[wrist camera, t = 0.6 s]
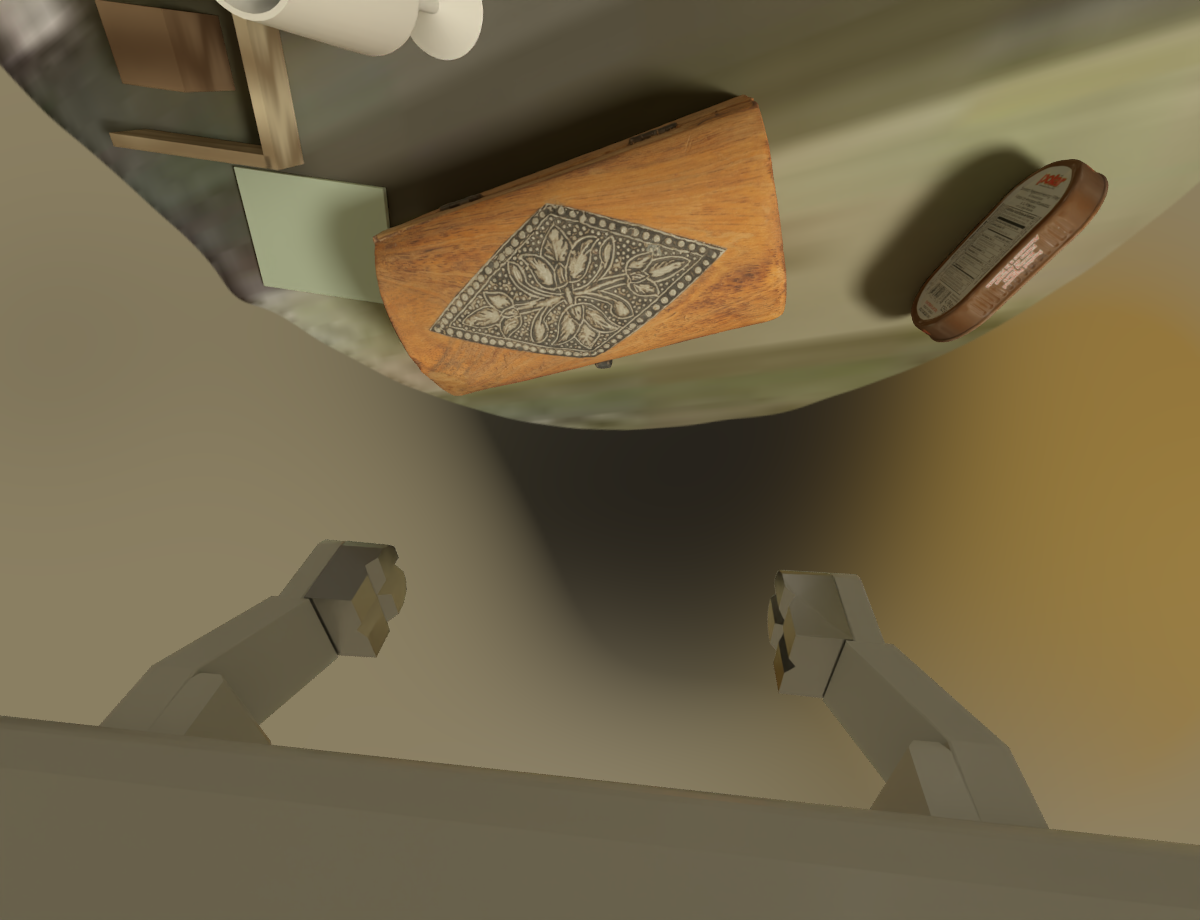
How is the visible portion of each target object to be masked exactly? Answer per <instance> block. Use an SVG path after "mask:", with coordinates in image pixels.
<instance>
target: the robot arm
mask: <svg viewBox="0 0 1200 920" xmlns="http://www.w3.org/2000/svg"><path fill="white" fill-rule="evenodd" d="M398 558H399V557H398V554H397V552H396V549H395V547H394V546H391V545H385V544H374V543H363V542H352V541H337V540H324V541H322V542H320V543H319V544H318V545H317V546H316V547H315V549H314V550H313V551H312V553H311V554H310V555H309V557H308V558H307V559H306V561H305V562H304V563H303V565H302V566H301V567H300V568H299V570H298V571H297V573H296V574H295V575H294V576H293V578H292V579H291V580H290V582H289V583H288V584H287V586H286V587H285V588H284V589H283V591H282V592H281V593H280V595H279V596H271V597H269V598H268V599H266V600H264V601H262V602H261V603H259V604H257V605H255V606H254V607H252V608H250V609H249V610H247V611H245V612H243V613H242V614H240V615H238V616H237V617H235V618H233V619H231V620H230V621H228V622H226V623H225V624H223V625H221V626H219V627H218V628H216V629H214V630H212V631H211V632H209V633H207V634H206V635H204V636H202V637H200V638H199V639H197V640H195V641H193V642H192V643H190V644H188V645H187V646H185V647H183V648H181V649H180V650H178V651H176V652H175V653H173V654H171V655H169V656H168V657H166V658H164V659H163V660H161V661H159V662H157V663H156V664H154V665H152V666H151V668H149V670H148V671H147V672H146V673H145V674H144V675H143V676H142V678H141V679H140V680H139V681H138V682H137V683H136V684H135V686H134V687H133V688H132V689H131V690H130V691H129V692H128V693H127V695H126V696H125V697H124V698H123V699H122V700H121V701H120V703H119V704H118V705H117V706H116V707H115V708H114V709H113V711H112V712H111V713H110V714H109V715H108V716H107V717H106V719H105V720H104V721H103V722H102V723H101V724H100V725H99V726H92V725H83V724H73V723H65V722H55V721H46V720H37V719H28V718H18V717H10V716H0V920H1200V845H1195V844H1185V843H1175V842H1167V841H1158V840H1148V839H1139V838H1130V837H1120V836H1110V835H1102V834H1092V833H1083V832H1074V831H1065V830H1056V829H1049V828H1048V826H1047V824H1046V821H1045V820H1044V817H1043V815H1042V814H1041V811H1040V810H1039V807H1038V805H1037V803H1036V801H1035V799H1034V797H1033V795H1032V793H1031V791H1030V789H1029V787H1028V785H1027V783H1026V781H1025V779H1024V777H1023V775H1022V773H1021V771H1020V769H1019V767H1018V765H1017V763H1016V761H1015V759H1014V757H1013V755H1012V753H1011V751H1010V749H1009V747H1008V746H1007V745H1006V744H1005V743H1003V742H1002V741H1001V740H1000V739H999V738H998V737H997V736H996V735H994V734H993V733H992V732H991V731H990V730H989V729H988V728H987V727H985V726H984V725H983V724H982V723H981V722H980V721H979V720H978V719H976V718H975V717H974V716H973V715H972V714H971V713H970V712H968V711H967V710H966V709H965V708H964V707H963V706H962V705H961V704H959V703H958V702H957V701H956V700H955V699H954V698H952V696H950V695H949V694H948V693H947V692H946V691H945V690H944V689H943V688H942V687H940V686H939V685H938V684H937V683H936V682H935V681H934V680H933V679H931V678H930V677H929V676H928V675H927V674H926V673H925V672H924V671H922V670H921V669H920V668H919V667H918V666H917V665H916V664H914V663H913V662H912V661H911V660H910V659H909V658H908V657H907V656H905V655H904V654H903V653H902V652H901V651H900V650H899V649H898V648H896V647H895V646H894V645H893V644H885V643H884V640H883V637H882V635H881V632H880V629H879V627H878V624H877V621H876V619H875V616H874V614H873V611H872V608H871V605H870V603H869V600H868V598H867V595H866V592H865V590H864V587H863V584H862V581H861V579H860V578H859V577H858V576H857V575H856V574H840V573H839V574H838V573H830V574H829V573H824V572H806V571H786V570H779V571H778V572H777V574H776V577H775V581H774V585H775V591H776V594H775V595H773V596H772V597H771V598H770V602H769V607H768V620H767V623H768V634H769V641H770V644H771V645H772V646H773V647H774V648H775V649H776V654H775V658H774V661H773V665H774V671H775V676H776V682H777V687H778V693H783V694H791V695H800V696H809V697H818V698H823V701H824V703H825V704H826V705H827V707H828V708H829V709H830V710H831V712H832V713H833V714H834V716H835V717H836V718H837V720H838V721H839V722H840V723H841V725H842V726H843V727H844V729H845V730H846V731H847V733H848V734H849V735H850V736H851V738H852V739H853V740H854V742H855V743H856V744H857V745H858V747H859V748H860V749H861V751H862V752H863V753H864V755H865V756H866V757H867V758H868V760H869V761H870V762H871V764H872V765H873V766H874V768H875V769H876V770H877V772H878V773H879V774H880V775H881V777H882V778H883V779H884V781H885V782H886V784H885V785H884V787H883V789H882V790H881V792H880V794H879V795H878V797H877V798H876V800H875V801H874V803H873V805H872V806H871V808H870V809H860V808H851V807H842V806H833V805H823V804H814V803H805V802H796V801H786V800H777V799H767V798H758V797H749V796H739V795H731V794H721V793H712V792H702V791H694V790H684V789H675V788H666V787H657V786H648V785H637V784H629V783H619V782H610V781H602V780H591V779H583V778H574V777H565V776H564V777H563V776H556V775H546V774H537V773H528V772H518V771H508V770H500V769H490V768H481V767H471V766H462V765H452V764H443V763H433V762H425V761H415V760H406V759H397V758H388V757H379V756H369V755H360V754H351V753H341V752H332V751H323V750H313V749H304V748H295V747H285V746H277V745H271V741H270V739H269V738H268V737H267V735H266V734H265V733H264V732H263V730H262V729H261V727H260V726H259V725H260V724H261V723H262V722H263V721H264V720H266V719H267V718H268V717H269V716H270V715H271V714H273V713H274V712H275V711H276V710H277V709H278V708H279V707H281V706H282V705H283V704H284V703H285V702H287V701H288V700H289V699H290V698H291V697H293V696H294V695H295V694H296V693H297V692H298V691H300V690H301V689H302V688H303V687H304V686H305V685H307V684H308V683H309V682H310V681H311V680H312V679H314V678H315V677H316V676H317V675H318V674H319V673H321V672H322V671H323V670H324V669H325V668H326V667H327V666H329V665H330V664H331V663H332V662H333V661H335V660H336V659H337V658H338V655H344V656H360V657H361V656H362V657H377V655H378V653H379V651H380V649H381V647H382V645H383V643H384V641H385V639H386V637H387V636H388V633H389V632H390V630H389V626H388V623H387V622H388V621H389V620H391V619H392V618H393V617H395V616H396V615H397V614H399V612H400V610H401V608H402V606H403V603H404V600H405V595H406V590H407V588H406V578H405V575H404V572H403V571H402V570H401V569H400V568H399V567H397V566H396V565H395V563H396V561H397V559H398Z"/></svg>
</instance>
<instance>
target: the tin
mask: <svg viewBox="0 0 1200 920" xmlns="http://www.w3.org/2000/svg"><path fill="white" fill-rule="evenodd" d="M1107 191H1108V181H1107V179H1106V177H1105V176H1104V175H1102V174H1100V173H1097V172H1095V171H1094V170H1093V169H1092V168H1090V167H1089V166H1088V165H1087V164H1085V163H1083V162H1082V161H1079V160H1076V159H1069V160H1061V161H1057V162H1053V163H1051V164H1048V165H1046V166H1044V167H1043V168H1041V169H1039V170H1037V171H1036V172H1034V173H1033V174H1031V175H1030V176H1028V177H1027V178H1026V179H1024V180H1023V181H1022V182H1020V183H1019V184H1018V185H1017V186H1016V187H1014V188H1013V189H1012V190H1011V191H1010V192H1009V193H1008V194H1007V195H1006V196H1005V197H1004V198H1003V199H1002V200H1001V201H1000V202H999V203H998V204H997V205H996V206H995V207H994V208H993V209H992V210H991V211H990V213H989V214H988V215H987V216H986V217H985V218H984V219H983V220H982V221H981V222H980V223H979V224H978V225H977V226H976V227H975V228H974V229H973V230H972V231H971V233H970V234H969V235H968V236H967V237H966V238H965V239H964V240H963V241H962V242H961V243H960V244H959V245H958V246H957V247H956V249H955V250H954V251H953V252H952V253H951V254H950V255H949V256H948V257H947V258H946V259H945V260H944V261H943V262H942V264H941V265H940V266H939V267H938V268H937V269H936V270H935V271H934V272H933V273H932V274H931V276H930V277H929V278H928V279H927V281H926V282H925V283H924V285H923V286H922V287H921V289H920V291H919V292H918V294H917V296H916V298H915V300H914V303H913V306H912V309H911V316H912V320H913V323H914V325H915V326H916V327H917V328H919V329H920V330H921V331H923V332H925V333H926V334H928V335H929V336H930V337H931V339H933V340H934V341H937V342H949V341H953V340H956V339H958V338H960V337H962V336H964V335H966V334H968V333H970V332H971V331H973V330H974V329H976V328H977V327H979V326H980V325H981V324H983V323H984V322H985V321H986V320H988V319H989V318H990V317H991V316H992V315H993V314H994V313H995V312H996V311H997V310H998V309H999V308H1000V307H1002V306H1003V305H1004V304H1005V303H1006V302H1007V301H1008V300H1009V299H1010V298H1011V297H1012V296H1013V295H1014V294H1015V293H1016V292H1018V291H1019V290H1020V289H1021V288H1022V287H1023V286H1024V285H1025V284H1026V283H1027V282H1028V281H1029V280H1030V279H1031V278H1032V277H1033V276H1034V275H1036V274H1037V273H1038V272H1039V271H1040V270H1041V269H1042V268H1043V267H1044V266H1045V265H1046V264H1047V263H1048V262H1049V261H1051V260H1052V259H1053V258H1054V257H1055V256H1056V255H1057V254H1058V253H1059V252H1060V251H1061V250H1062V249H1063V248H1064V247H1065V246H1067V245H1068V244H1069V243H1070V242H1071V241H1072V240H1073V239H1074V238H1075V237H1076V236H1077V235H1078V234H1079V233H1080V232H1081V231H1082V230H1083V229H1084V228H1085V227H1086V226H1087V225H1088V224H1089V222H1090V221H1091V220H1092V219H1093V217H1094V216H1095V215H1096V213H1097V212H1098V210H1099V209H1100V207H1101V205H1102V204H1103V202H1104V199H1105V197H1106V195H1107Z"/></svg>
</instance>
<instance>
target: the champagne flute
mask: <svg viewBox="0 0 1200 920" xmlns="http://www.w3.org/2000/svg"><path fill="white" fill-rule="evenodd" d="M216 1H217V2H218V3H219V4H220V5H221V6H222V7H224V8H225V9H227V10H228V11H230V12H231V13H233V14H234V15H237V16H239V17H241V18H243V19H246V20H250V21H253V22H256V23H260V24H263V25H266V26H270V27H273V28H276V29H280V30H283V31H286V32H289V33H293V34H296V35H299V36H303V37H306V38H309V39H313V40H316V41H319V42H323V43H326V44H329V45H333V46H336V47H339V48H343V49H346V50H349V51H353V52H356V53H359V54H363V55H368V56H383V55H386V54H389V53H392V52H393V51H395V50H396V49H398V48H399V47H401V46H402V45H403V44H404V43H405V42H406V41H407V39H408V38H409V37H410V36H411V38H412V39H413V41H414V42H415V43H416V44H417V45H418V46H419V47H420V48H421V49H422V50H423V51H424V52H426V53H427V54H429V55H430V56H433V57H435V58H437V59H442V60H454V59H457V58H460V57H462V56H463V55H465V54H466V53H468V52H469V51H470V50H471V48H472V47H473V46H474V44H475V43H476V41H477V39H478V37H479V34H480V31H481V27H482V21H483V6H482V0H216Z"/></svg>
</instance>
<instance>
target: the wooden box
mask: <svg viewBox="0 0 1200 920" xmlns="http://www.w3.org/2000/svg"><path fill="white" fill-rule="evenodd" d="M373 241H374V244H375V251H374V254H375V269H376V277H377V281H378V286H379V291H380V295H381V298H382V301H383V304H384V306H385V309H386V311H387V314H388V316H389V318H390V321H391V323H392V325H393V327H394V329H395V331H396V333H397V335H398V337H399V339H400V341H401V342H402V344H403V346H404V348H405V349H406V351H407V353H408V354H409V356H410V357H411V358H412V360H413V361H414V362H415V363H416V364H417V365H418V367H419V369H420V370H421V371H422V372H423V373H424V374H425V375H426V376H428V377H429V378H430V379H431V380H432V381H434V382H435V383H436V384H437V385H438V386H439V387H441V388H442V389H443V390H445V391H447V392H448V393H450V394H452V395H454V396H461V395H465V394H469V393H472V392H476V391H480V390H484V389H488V388H492V387H497V386H502V385H507V384H512V383H517V382H521V381H526V380H530V379H534V378H538V377H542V376H546V375H551V374H554V373H559V372H563V371H567V370H571V369H575V368H579V367H583V366H587V365H591V364H595V365H596V367H597V368H601V369H602V368H610V367H611V365H612V359H616V358H620V357H623V356H628V355H632V354H636V353H640V352H644V351H647V350H651V349H655V348H659V347H663V346H667V345H671V344H675V343H679V342H683V341H687V340H691V339H695V338H699V337H703V336H707V335H711V334H715V333H719V332H723V331H727V330H731V329H736V328H741V327H745V326H749V325H754V324H758V323H762V322H766V321H770V320H773V319H775V318H777V317H779V316H780V315H782V314H783V312H784V308H785V303H786V268H785V259H784V252H783V242H782V234H781V225H780V218H779V211H778V204H777V197H776V191H775V184H774V178H773V170H772V161H771V156H770V149H769V144H768V139H767V135H766V131H765V127H764V123H763V119H762V116H761V113H760V110H759V106H758V104H757V103H756V102H755V101H754V100H753V98H751V97H747V96H746V95H741V96H738V97H734V98H732V99H730V100H727V101H724V102H722V103H719V104H716V105H714V106H711V107H709V108H706V109H703V110H701V111H698V112H695V113H692V114H690V115H687V116H684V117H682V118H679V119H677V120H675V121H672V122H669V123H666V124H663V125H661V126H659V127H656V128H653V129H651V130H648V131H646V132H643V133H641V134H638V135H635V136H633V137H630V138H627V139H625V140H623V141H620V142H617V143H614V144H611V145H609V146H606V147H603V148H601V149H598V150H595V151H593V152H590V153H587V154H584V155H581V156H579V157H576V158H574V159H571V160H568V161H566V162H563V163H560V164H557V165H554V166H552V167H549V168H547V169H544V170H541V171H538V172H536V173H534V174H531V175H528V176H525V177H522V178H520V179H517V180H514V181H512V182H509V183H506V184H504V185H501V186H498V187H496V188H493V189H490V190H487V191H484V192H482V193H478V194H475V195H472V196H468V197H466V198H464V199H461V200H457V201H455V202H451V203H448V204H446V205H443V206H441V207H440V208H439V209H437V210H434V211H431V212H429V213H427V214H424V215H422V216H420V217H417V218H415V219H413V220H410V221H408V222H406V223H403V224H401V225H398V226H395V227H392V228H389V229H387V230H384V231H382V232H380V233H378V234H377V235H375V236H373Z"/></svg>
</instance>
